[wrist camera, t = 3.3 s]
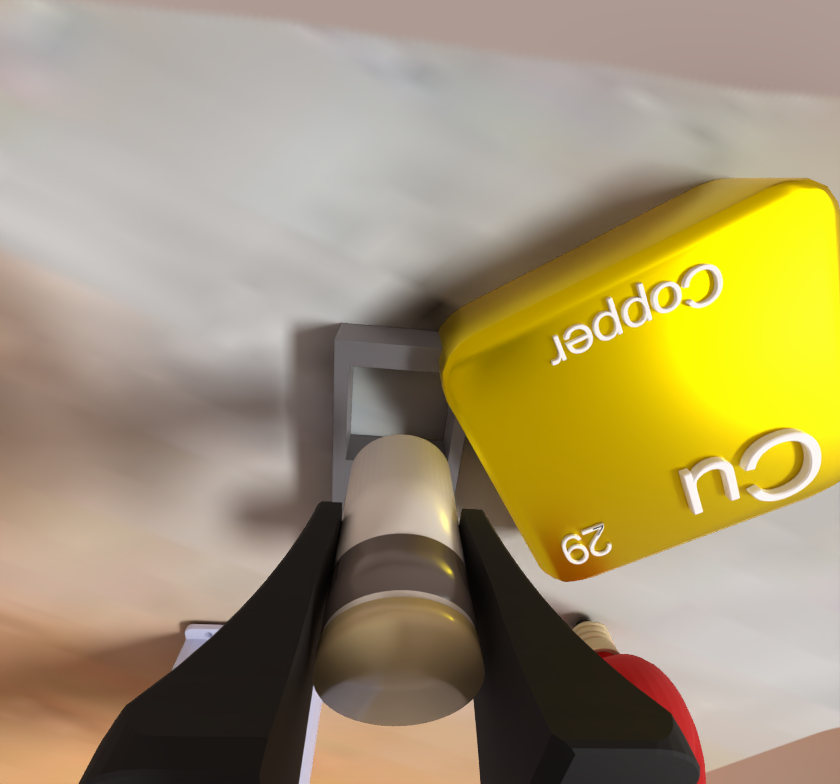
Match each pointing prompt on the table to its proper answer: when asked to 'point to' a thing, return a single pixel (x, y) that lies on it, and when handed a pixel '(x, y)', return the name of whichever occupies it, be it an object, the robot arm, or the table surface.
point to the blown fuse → (399, 594)
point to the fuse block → (388, 353)
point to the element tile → (659, 375)
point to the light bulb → (644, 681)
